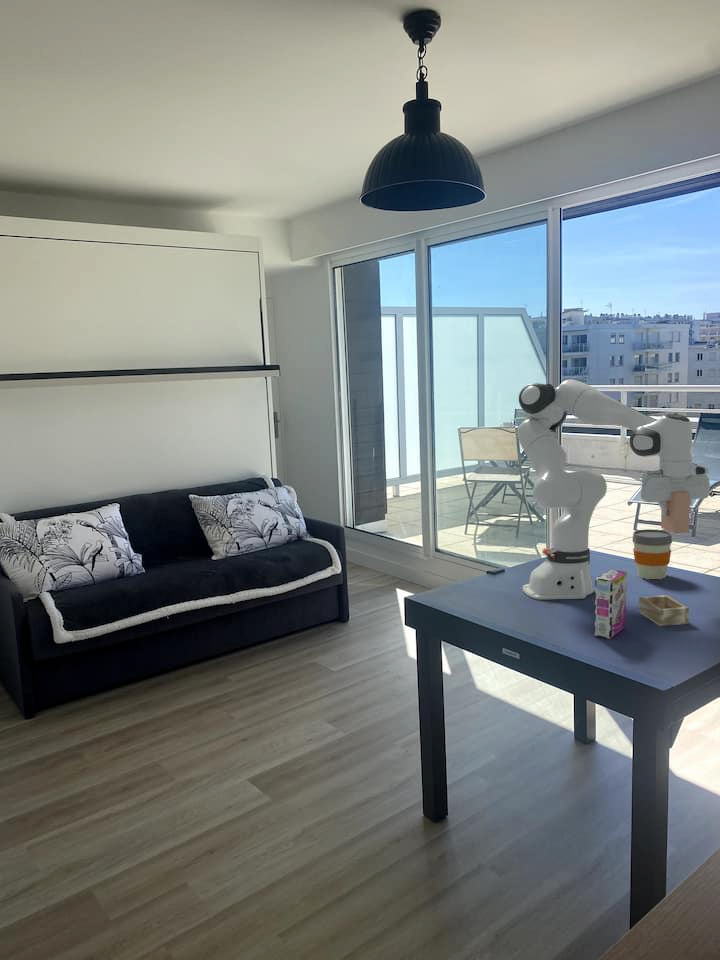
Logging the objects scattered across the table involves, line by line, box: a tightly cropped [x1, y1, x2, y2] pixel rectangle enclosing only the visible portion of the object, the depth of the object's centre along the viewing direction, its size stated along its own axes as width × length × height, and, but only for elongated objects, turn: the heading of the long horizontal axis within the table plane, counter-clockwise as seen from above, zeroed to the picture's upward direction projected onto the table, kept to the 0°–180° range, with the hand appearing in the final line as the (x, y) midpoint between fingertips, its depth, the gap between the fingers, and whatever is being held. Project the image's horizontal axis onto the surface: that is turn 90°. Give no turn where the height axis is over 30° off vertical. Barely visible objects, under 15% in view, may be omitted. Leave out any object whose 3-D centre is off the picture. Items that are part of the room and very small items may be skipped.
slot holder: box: [638, 594, 690, 627], centre depth 209 cm, size 8×12×5 cm
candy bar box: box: [594, 569, 627, 640], centre depth 200 cm, size 11×5×16 cm, turn 141°
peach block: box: [660, 491, 691, 534], centre depth 219 cm, size 4×8×12 cm, turn 6°
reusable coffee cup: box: [632, 528, 673, 580], centre depth 249 cm, size 13×13×15 cm
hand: (674, 514), depth 219 cm, fingers closed on peach block, 4 cm apart
